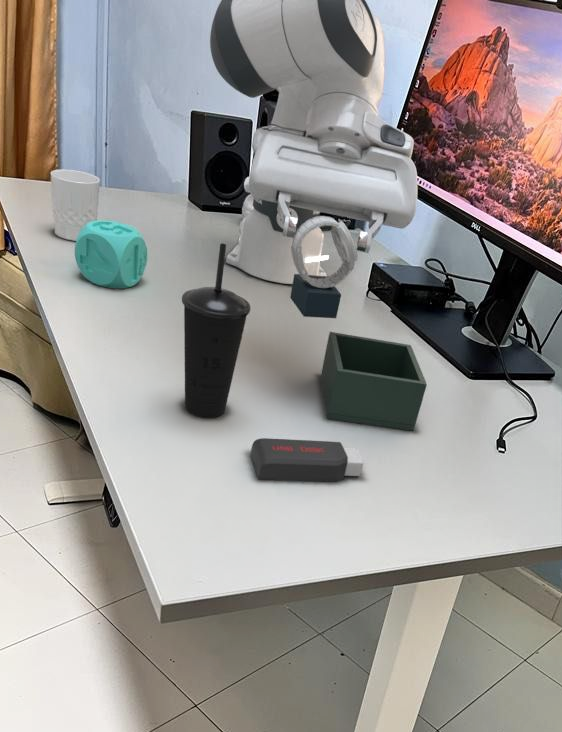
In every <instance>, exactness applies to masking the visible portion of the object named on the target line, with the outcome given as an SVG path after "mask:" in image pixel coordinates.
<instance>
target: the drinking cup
mask: <svg viewBox="0 0 562 732" xmlns="http://www.w3.org/2000/svg"><path fill="white" fill-rule="evenodd" d="M226 252H227V244H226V243H222V242H221V243H220V244H219V250H218V258H217V260H218V261H217V270H216V277H215V286H203V287H199V288H193V289H189V290H187V291H185V292H184V293H183V294H182V296H181V303H182V304H183V312H184V313H183V316H184V317H183V321H184V322H183V324H184V325H183V327H184V329H183V331H184V336H183V338H184V339H183V340H184V408H185V410H186V411H187V412H188V413H189V414H191V415H194V416H196V417H198V418H199V417H200V418H205V419H208V418H209V419H214V418H215V419H216V418H219V417H221V416H223V415H224V413H225V412H226V408H227V404H228V398H229V394H230V390H231V385H232V381H233V379H234V378H233V377H234V374H235V368H236V364H237V360H238V356H239V351H240V347H241V343H242V338H243V334H244V330H245V326H246V321H247V317H248V315H250V313H251V310H252V309H251V307H252V306H251V304H250V302H249V301H248V300H247V299H245V298H243V297H242V296H240V295H238V294H236V293H235V292H234V291H231V290H229V289H225V288H222V287H223V277H224V270H225V262H226V254H227V253H226Z"/></svg>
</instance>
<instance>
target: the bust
mask: <svg viewBox="0 0 562 732" xmlns="http://www.w3.org/2000/svg"><path fill="white" fill-rule="evenodd" d="M249 178H250V175H249V176H247V177H246V178H245V179H244V182H243V189H244V191H245V193H250V194H248V195H247V196H246V197H245V199H244V201H243V205H242V208H241V214H242V215H241V216H242V219H243V218H246V216H247V215H248V214H250V213H251V212H252V210H253V209H254V207H253V199H254V198H253V195H252V194H251V192H250V190H249Z"/></svg>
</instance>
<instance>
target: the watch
mask: <svg viewBox="0 0 562 732" xmlns="http://www.w3.org/2000/svg"><path fill="white" fill-rule="evenodd" d="M345 224H346V223H344V221H342V220H340V221H337V220H335V218H334V217H331V216H328V215H327V216H326V215H319V216H317V217H313V218H312V219H309V220H307V221H306V222H305V223H303V224H302V225H301V226H300V227H299V228H300V229H299V228H298V230H297V231H296V233H295V235H294V238H293V242H292V246H291V252H292V257H293V261H294V264H295V267H296V269H297V271H298V273H299V274H294V279H293V284H291V290H290V297H289V298H290V301H292V302H293V304H294V305H295V307H296V308H297V310H298V311H299V312H300V314H301V315H302V317H304V318H321V319H322V318H323V319H337V317H338V311H339V308H340V302H341V298H342V293H341V292H340V291H339V289H337V288H336V286H338V285H340V284H342V283H343V282H344V281H345V280H346V279H347V278H348V277H349V276H350V274H351V273H352V272H353V270H354V269H355V264H356V263H355V262H357V261H358V260H359V257H358V251H357V250H356V249H357V246H356V243H355V241H354V239H353V236H352V234H351V232H350V230H349V227H346V225H345ZM324 225H329V226H331V225H332V228H331V229H330V231H331V232H330V234H331V238H332V241H333V244H334V247H335V249H336V251H337V253H338V254H339V256H340V260H341V263H342V264H341V266H340V267H338V269H337V270H336V272H334V273H332V274H331V275H329V276H327V277H326V276H315V275H308V272H307V271H306V269H305V266H304V262H303V256H302V246H301V243H302V242H301V241H303V239H304V238H305V235H307V234H308V233H309V232H311V230H314V229H316V228H317V227H321V226H324ZM305 227H306V228H307V229H306V228H305Z"/></svg>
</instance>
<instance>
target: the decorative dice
mask: <svg viewBox="0 0 562 732" xmlns="http://www.w3.org/2000/svg"><path fill="white" fill-rule="evenodd" d="M74 258H75V262H76V265H77V268H78V269H79V271H80V273H81V274H82V276H83V277H84V278H85V279H86V280H87V281H88V282H89V283H92V284H94V285H96V286H100V287H102V288H103V287H104V288H109V289H127V288H131V287H134V286H135V285H136V284H138V282H139V281H140V280H141V279H142V277H143V275H144V274H145V273H144V272H145V271H146V268H147V263H148V246H147V244H146V241H145V239H144V237H143V236H142V234H141V233H140V231H139V230H138V229H137V228H135V227H134V226H131V225H129V224H126V223H123V222H119V221H112V220H97V221H91V222H89V223H87V224H86V225H85V226H84V227H83V228H82V229H81V231H80V233H79V235H78V237H77V240H76V241H75V245H74Z"/></svg>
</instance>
